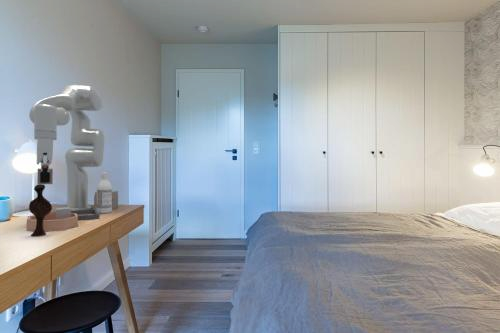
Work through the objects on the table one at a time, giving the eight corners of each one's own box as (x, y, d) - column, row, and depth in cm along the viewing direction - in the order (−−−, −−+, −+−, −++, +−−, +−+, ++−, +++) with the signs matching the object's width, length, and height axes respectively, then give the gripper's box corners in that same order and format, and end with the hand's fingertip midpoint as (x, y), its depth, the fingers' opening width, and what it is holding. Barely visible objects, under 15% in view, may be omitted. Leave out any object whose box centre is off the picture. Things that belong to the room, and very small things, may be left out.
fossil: (97, 211, 163) (97, 192, 163) (93, 210, 165) (93, 192, 165) (118, 208, 173) (118, 190, 173) (114, 207, 175) (114, 190, 175)
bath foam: (97, 211, 164) (98, 171, 163) (112, 210, 166) (113, 172, 165) (95, 213, 157) (96, 172, 156) (110, 213, 159) (111, 172, 159)
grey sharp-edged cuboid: (56, 222, 132) (56, 207, 132) (70, 221, 135) (70, 207, 134) (56, 224, 128) (56, 209, 128) (70, 223, 131) (70, 208, 131)
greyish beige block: (37, 183, 129) (37, 168, 129) (52, 183, 132) (52, 168, 132) (37, 184, 125) (37, 168, 125) (52, 184, 128) (52, 169, 128)
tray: (48, 216, 148) (48, 212, 147) (95, 213, 158) (95, 209, 158) (47, 222, 135) (48, 217, 135) (99, 218, 145) (99, 214, 145)
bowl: (28, 224, 131) (28, 214, 131) (75, 220, 140) (75, 211, 140) (25, 233, 117) (25, 222, 117) (78, 228, 126) (78, 218, 126)
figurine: (54, 232, 119) (54, 184, 118) (48, 236, 114) (49, 185, 113) (31, 233, 117) (32, 183, 117) (25, 236, 112) (25, 185, 112)
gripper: (35, 136, 133) (34, 180, 134) (33, 134, 119) (32, 183, 119) (56, 137, 137) (55, 180, 138) (56, 135, 123) (56, 183, 123)
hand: (45, 181), depth 129 cm, fingers closed on greyish beige block, 4 cm apart
